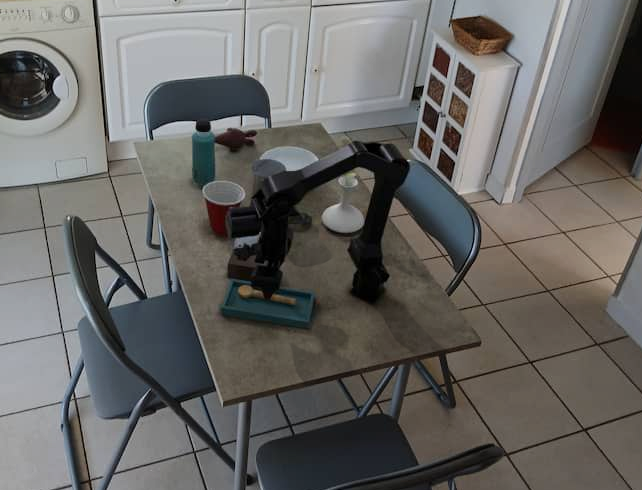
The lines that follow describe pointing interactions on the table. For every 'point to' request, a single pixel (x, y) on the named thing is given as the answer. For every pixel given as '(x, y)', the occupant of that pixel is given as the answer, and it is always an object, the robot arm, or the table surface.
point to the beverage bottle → (203, 153)
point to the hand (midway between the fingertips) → (270, 285)
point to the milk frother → (262, 171)
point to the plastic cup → (221, 203)
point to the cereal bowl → (291, 157)
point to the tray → (269, 306)
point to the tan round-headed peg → (247, 292)
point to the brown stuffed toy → (235, 138)
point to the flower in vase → (344, 206)
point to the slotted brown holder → (243, 266)
